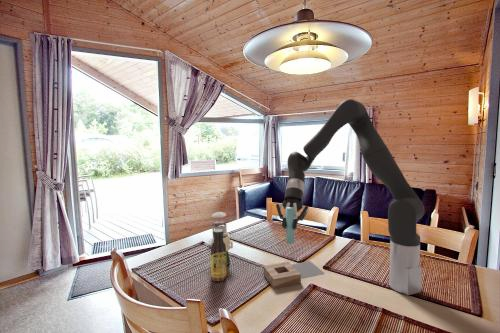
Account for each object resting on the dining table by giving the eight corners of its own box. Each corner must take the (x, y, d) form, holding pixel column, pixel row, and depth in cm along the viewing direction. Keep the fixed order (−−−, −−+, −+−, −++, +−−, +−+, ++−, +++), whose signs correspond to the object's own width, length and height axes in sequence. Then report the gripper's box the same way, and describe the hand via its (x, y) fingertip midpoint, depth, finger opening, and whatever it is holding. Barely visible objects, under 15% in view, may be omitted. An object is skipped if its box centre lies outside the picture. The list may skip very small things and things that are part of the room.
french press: (221, 243, 145) (219, 197, 143) (205, 239, 152) (202, 195, 149) (232, 237, 153) (230, 194, 151) (216, 234, 160) (214, 192, 157)
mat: (325, 274, 110) (325, 273, 110) (298, 279, 106) (298, 279, 106) (310, 261, 121) (310, 261, 121) (285, 266, 118) (285, 265, 118)
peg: (295, 243, 108) (295, 208, 106) (288, 244, 107) (287, 209, 106) (292, 240, 111) (291, 206, 109) (285, 241, 110) (284, 207, 109)
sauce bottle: (213, 284, 105) (211, 234, 103) (209, 276, 111) (206, 229, 109) (229, 280, 108) (227, 231, 106) (224, 273, 113) (222, 226, 111)
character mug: (208, 265, 121) (206, 236, 120) (217, 258, 127) (215, 231, 126) (229, 269, 116) (228, 240, 115) (237, 262, 123) (236, 234, 121)
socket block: (300, 283, 103) (300, 273, 103) (274, 289, 100) (273, 279, 100) (288, 270, 114) (288, 261, 113) (263, 275, 111) (263, 265, 110)
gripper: (276, 186, 116) (269, 222, 106) (310, 187, 111) (306, 225, 101) (280, 195, 122) (273, 231, 112) (312, 197, 117) (308, 234, 107)
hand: (289, 228), depth 106 cm, fingers closed on peg, 3 cm apart
